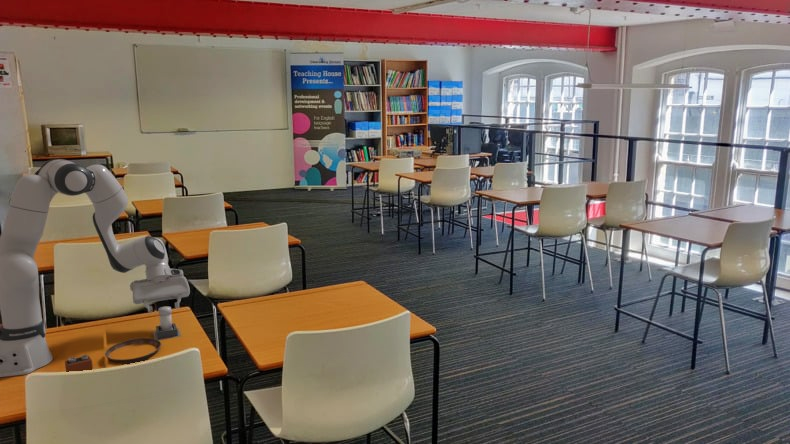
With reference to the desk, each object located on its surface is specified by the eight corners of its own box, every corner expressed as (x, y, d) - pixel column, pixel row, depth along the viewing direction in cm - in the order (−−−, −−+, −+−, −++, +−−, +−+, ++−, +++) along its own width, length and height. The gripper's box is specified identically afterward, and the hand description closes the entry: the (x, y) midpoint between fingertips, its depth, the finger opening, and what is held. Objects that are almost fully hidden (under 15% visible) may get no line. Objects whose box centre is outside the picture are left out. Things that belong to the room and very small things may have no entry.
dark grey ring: (100, 370, 194) (99, 361, 193) (111, 349, 210) (110, 340, 210) (158, 364, 198) (157, 355, 197) (164, 343, 215) (163, 335, 214)
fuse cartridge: (161, 337, 217) (158, 311, 215) (160, 333, 221) (157, 307, 219) (174, 335, 219) (171, 309, 217) (172, 331, 223) (170, 305, 221)
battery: (67, 388, 181) (64, 357, 179) (92, 382, 185) (88, 352, 183) (70, 393, 178) (66, 362, 176) (95, 387, 182) (91, 356, 180)
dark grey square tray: (155, 343, 214) (154, 334, 213) (153, 335, 222) (152, 325, 221) (181, 339, 218) (180, 329, 217) (178, 330, 226) (177, 321, 225)
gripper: (129, 277, 220) (133, 310, 214) (186, 269, 229) (192, 301, 223) (129, 285, 225) (133, 318, 219) (186, 277, 234) (191, 308, 228)
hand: (164, 309), depth 221 cm, fingers open, 8 cm apart
